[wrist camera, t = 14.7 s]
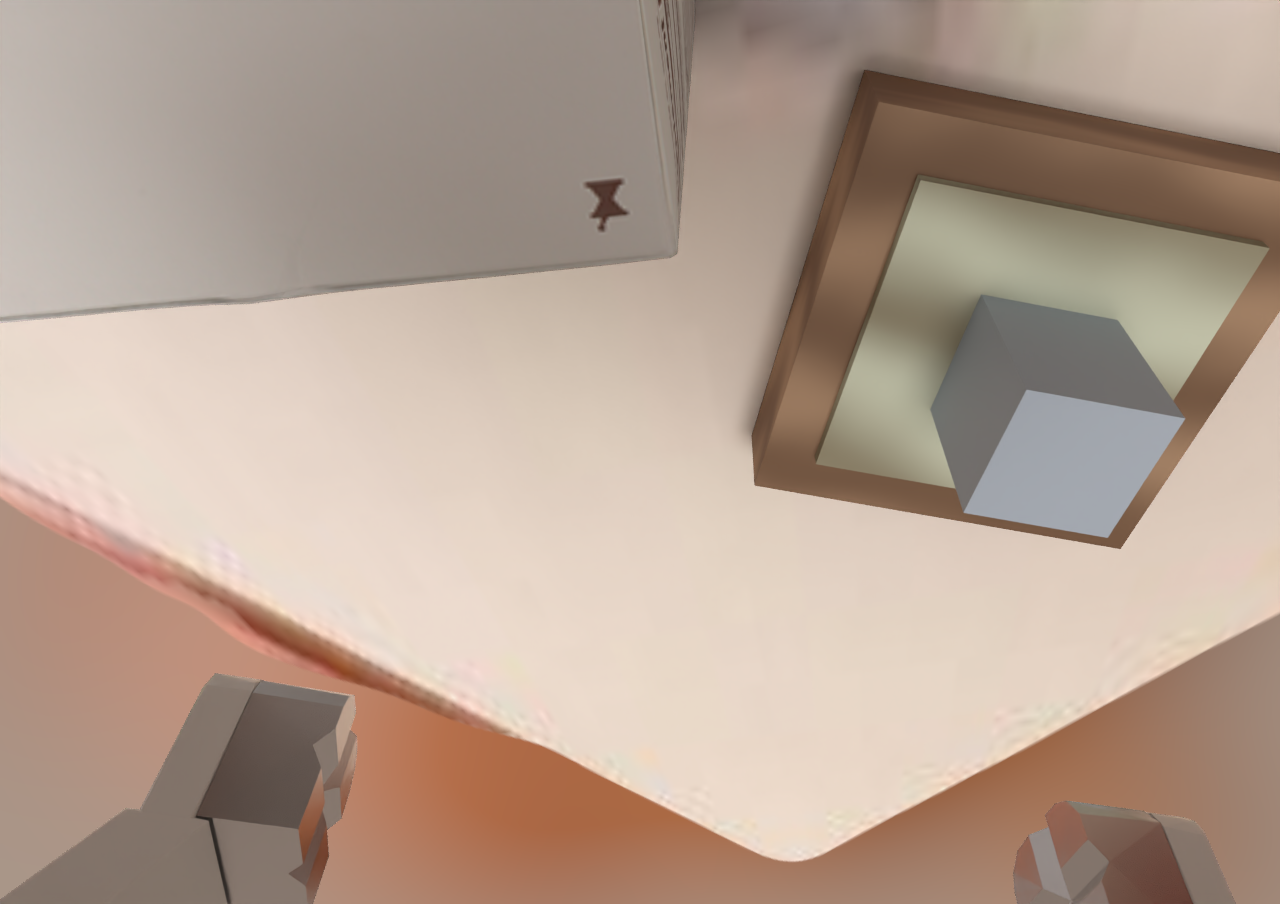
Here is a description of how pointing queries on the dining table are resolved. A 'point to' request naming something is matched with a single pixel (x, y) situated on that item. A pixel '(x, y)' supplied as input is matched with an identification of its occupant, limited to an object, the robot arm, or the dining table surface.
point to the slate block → (1050, 417)
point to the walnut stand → (1006, 279)
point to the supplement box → (330, 145)
